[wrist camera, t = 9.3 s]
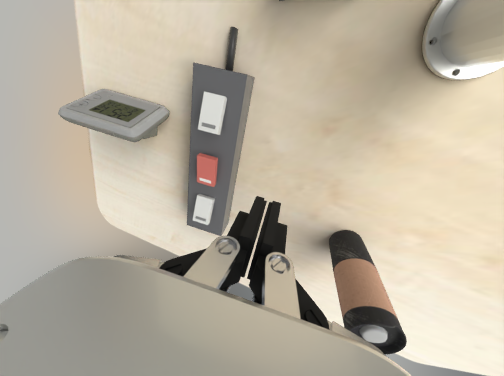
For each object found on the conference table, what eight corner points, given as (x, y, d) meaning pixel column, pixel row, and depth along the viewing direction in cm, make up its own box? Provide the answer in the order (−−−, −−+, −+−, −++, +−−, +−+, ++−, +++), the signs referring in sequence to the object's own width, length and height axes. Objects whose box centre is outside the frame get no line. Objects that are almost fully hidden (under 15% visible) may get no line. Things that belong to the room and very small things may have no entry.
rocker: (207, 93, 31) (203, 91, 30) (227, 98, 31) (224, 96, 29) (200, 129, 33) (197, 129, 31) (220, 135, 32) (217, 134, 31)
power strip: (208, 24, 31) (194, 12, 27) (261, 35, 30) (255, 24, 26) (196, 213, 50) (186, 224, 46) (228, 223, 49) (221, 236, 45)
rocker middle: (200, 152, 35) (196, 155, 34) (217, 157, 35) (215, 160, 34) (199, 179, 38) (196, 182, 37) (216, 184, 38) (213, 187, 37)
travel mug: (326, 252, 46) (342, 348, 29) (329, 227, 43) (349, 318, 26) (360, 255, 44) (400, 360, 27) (366, 230, 41) (415, 330, 24)
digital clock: (175, 110, 39) (136, 115, 30) (167, 147, 43) (131, 162, 34) (106, 73, 39) (45, 67, 29) (105, 115, 43) (52, 121, 34)
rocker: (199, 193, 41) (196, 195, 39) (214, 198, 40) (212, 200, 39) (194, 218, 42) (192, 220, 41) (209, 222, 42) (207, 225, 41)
